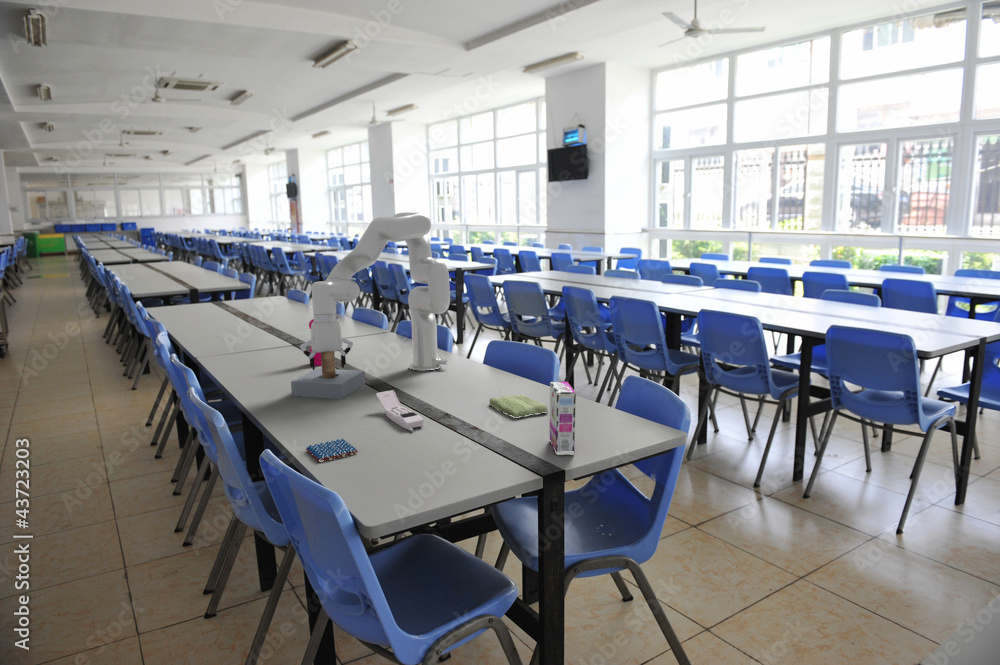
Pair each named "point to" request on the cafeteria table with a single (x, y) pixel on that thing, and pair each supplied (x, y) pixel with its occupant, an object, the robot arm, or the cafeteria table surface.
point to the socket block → (328, 384)
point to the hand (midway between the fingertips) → (328, 367)
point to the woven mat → (331, 450)
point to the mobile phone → (399, 411)
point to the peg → (328, 364)
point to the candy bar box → (562, 416)
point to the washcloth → (517, 405)
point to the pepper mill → (317, 355)
